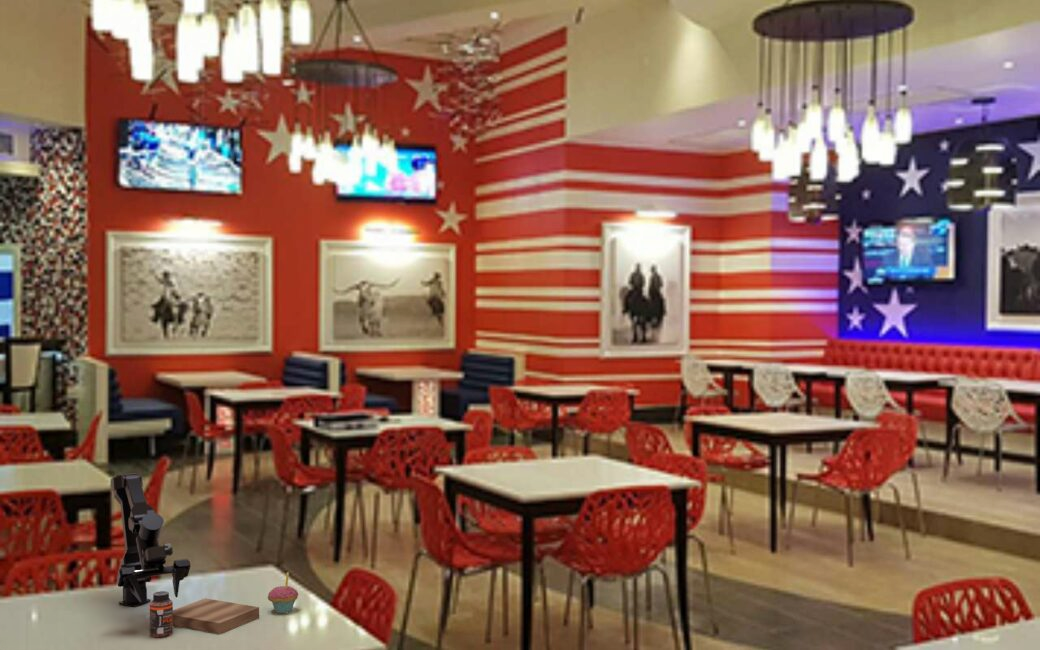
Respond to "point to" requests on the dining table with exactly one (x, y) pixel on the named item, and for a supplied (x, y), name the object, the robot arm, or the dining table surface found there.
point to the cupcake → (283, 597)
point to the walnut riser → (214, 615)
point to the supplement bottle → (161, 615)
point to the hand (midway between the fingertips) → (159, 599)
